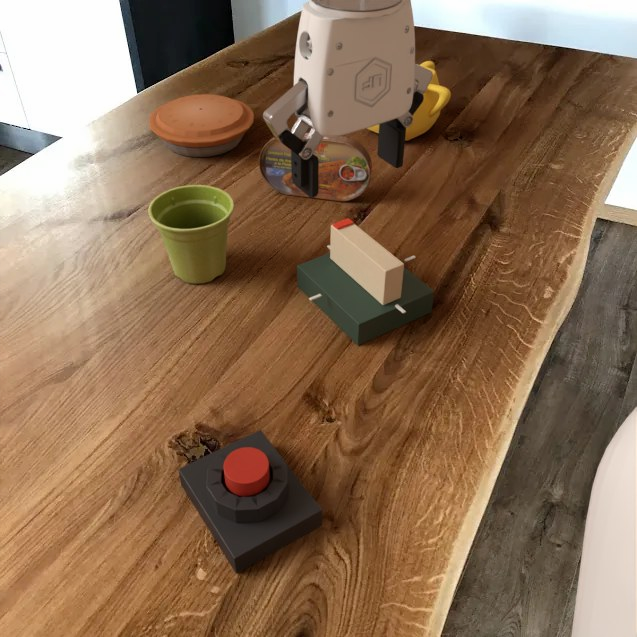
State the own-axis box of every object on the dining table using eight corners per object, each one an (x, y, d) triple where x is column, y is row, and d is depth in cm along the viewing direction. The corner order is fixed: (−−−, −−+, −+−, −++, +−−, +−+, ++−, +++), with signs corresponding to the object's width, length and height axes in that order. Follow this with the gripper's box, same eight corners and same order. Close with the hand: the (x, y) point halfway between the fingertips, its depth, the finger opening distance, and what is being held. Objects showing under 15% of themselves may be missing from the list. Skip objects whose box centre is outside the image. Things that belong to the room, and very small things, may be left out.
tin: (259, 191, 100) (256, 134, 94) (266, 180, 102) (263, 123, 96) (368, 206, 97) (371, 148, 91) (372, 194, 99) (375, 137, 94)
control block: (322, 525, 60) (322, 496, 57) (236, 574, 57) (232, 545, 54) (261, 445, 66) (259, 415, 64) (180, 484, 63) (175, 455, 60)
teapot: (449, 148, 109) (458, 82, 102) (364, 151, 108) (368, 84, 102) (431, 109, 119) (438, 46, 113) (353, 111, 119) (356, 48, 112)
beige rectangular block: (401, 297, 78) (404, 261, 74) (383, 305, 76) (385, 269, 73) (347, 251, 84) (348, 216, 81) (329, 258, 83) (330, 223, 80)
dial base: (452, 311, 81) (456, 288, 79) (347, 359, 75) (348, 336, 73) (376, 248, 90) (377, 226, 88) (276, 287, 84) (275, 265, 82)
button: (278, 483, 59) (277, 470, 58) (238, 504, 57) (237, 490, 56) (255, 453, 61) (254, 440, 60) (217, 473, 59) (215, 459, 58)
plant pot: (155, 296, 82) (144, 232, 77) (161, 248, 89) (151, 185, 84) (239, 292, 83) (233, 227, 77) (238, 244, 90) (233, 182, 84)
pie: (134, 158, 106) (129, 126, 103) (175, 112, 118) (171, 82, 115) (235, 171, 104) (233, 138, 100) (267, 123, 115) (265, 93, 112)
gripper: (288, 18, 51) (292, 222, 63) (470, -22, 59) (445, 167, 70) (236, -10, 56) (249, 184, 67) (411, -44, 63) (396, 136, 75)
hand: (348, 175), depth 69 cm, fingers open, 9 cm apart
